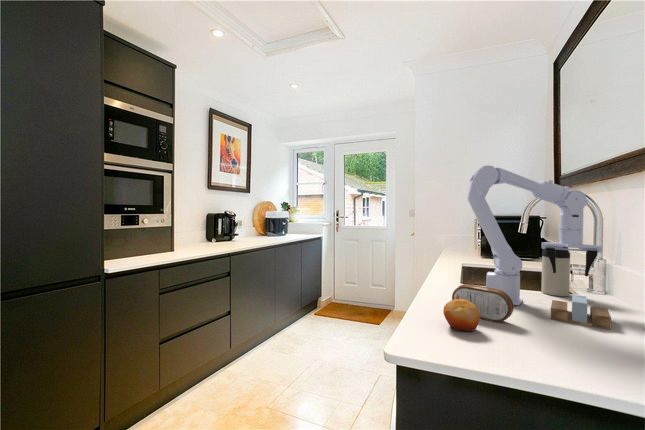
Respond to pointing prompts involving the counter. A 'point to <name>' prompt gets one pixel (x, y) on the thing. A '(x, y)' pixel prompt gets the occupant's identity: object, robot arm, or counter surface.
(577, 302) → the pale blue tapered bar
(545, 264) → the travel mug
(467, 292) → the tin
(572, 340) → the counter surface
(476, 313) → the fruit
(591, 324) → the slot block
